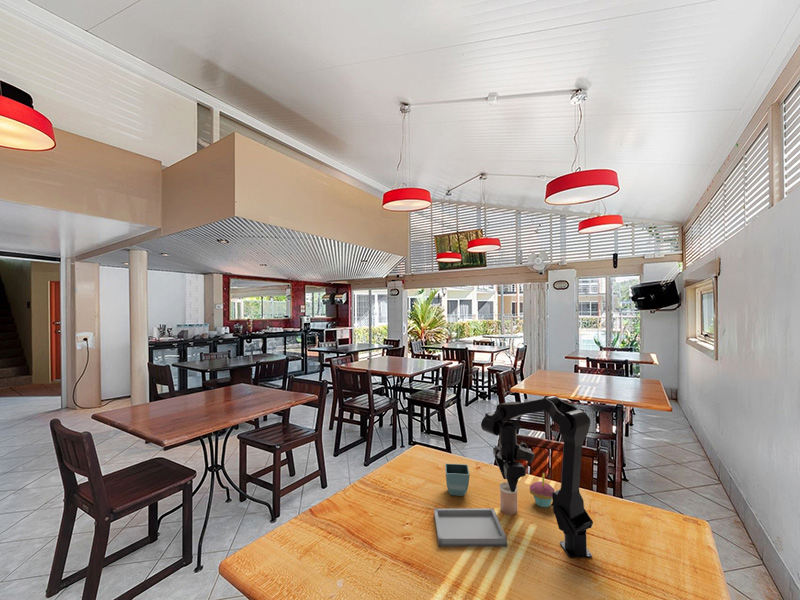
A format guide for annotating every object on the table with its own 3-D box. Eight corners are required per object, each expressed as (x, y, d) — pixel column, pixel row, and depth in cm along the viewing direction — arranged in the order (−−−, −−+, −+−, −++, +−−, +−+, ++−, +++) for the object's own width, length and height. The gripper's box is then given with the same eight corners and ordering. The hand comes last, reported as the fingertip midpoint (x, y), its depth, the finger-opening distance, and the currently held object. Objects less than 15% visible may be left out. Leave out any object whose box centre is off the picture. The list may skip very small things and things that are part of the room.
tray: (507, 546, 107) (507, 538, 107) (438, 546, 107) (438, 538, 107) (493, 515, 123) (493, 508, 123) (434, 515, 123) (434, 508, 123)
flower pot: (468, 487, 142) (467, 464, 142) (470, 499, 133) (469, 474, 133) (445, 486, 142) (445, 463, 143) (445, 498, 134) (445, 473, 134)
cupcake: (559, 510, 125) (558, 475, 125) (534, 510, 125) (533, 475, 125) (549, 497, 134) (549, 464, 134) (526, 497, 134) (525, 464, 134)
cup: (520, 515, 123) (520, 490, 123) (502, 515, 123) (502, 491, 123) (514, 505, 129) (514, 482, 129) (497, 505, 129) (497, 482, 129)
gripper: (541, 449, 117) (542, 499, 116) (522, 430, 135) (523, 472, 135) (506, 450, 117) (507, 499, 116) (492, 430, 135) (493, 473, 135)
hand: (508, 485), depth 126 cm, fingers open, 9 cm apart
